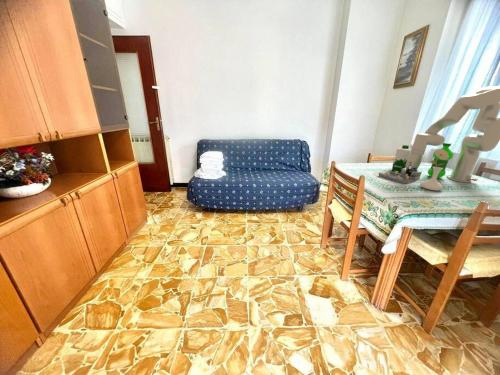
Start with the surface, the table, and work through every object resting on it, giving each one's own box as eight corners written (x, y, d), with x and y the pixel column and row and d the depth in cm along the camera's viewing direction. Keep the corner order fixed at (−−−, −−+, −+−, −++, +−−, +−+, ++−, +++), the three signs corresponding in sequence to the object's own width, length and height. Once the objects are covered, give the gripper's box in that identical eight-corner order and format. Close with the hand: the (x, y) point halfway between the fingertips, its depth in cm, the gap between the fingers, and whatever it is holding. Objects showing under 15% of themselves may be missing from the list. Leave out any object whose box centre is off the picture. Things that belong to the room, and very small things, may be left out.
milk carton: (405, 171, 165) (413, 146, 157) (402, 173, 159) (410, 147, 152) (393, 168, 171) (400, 144, 163) (389, 170, 165) (396, 145, 158)
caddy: (415, 181, 142) (417, 175, 141) (404, 184, 137) (405, 178, 136) (389, 173, 157) (390, 168, 156) (378, 176, 152) (379, 171, 151)
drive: (419, 178, 148) (421, 171, 146) (414, 179, 146) (417, 172, 143) (404, 174, 156) (406, 167, 154) (399, 175, 154) (402, 168, 152)
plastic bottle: (444, 180, 145) (458, 145, 135) (425, 177, 151) (437, 143, 141) (443, 176, 152) (456, 143, 143) (425, 174, 158) (436, 141, 148)
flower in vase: (446, 193, 124) (463, 152, 115) (425, 191, 126) (439, 151, 117) (433, 185, 136) (447, 147, 126) (413, 183, 138) (426, 146, 129)
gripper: (418, 149, 151) (410, 173, 157) (404, 151, 143) (397, 176, 150) (430, 151, 144) (421, 176, 151) (416, 154, 137) (408, 179, 144)
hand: (409, 175), depth 151 cm, fingers closed on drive, 6 cm apart
